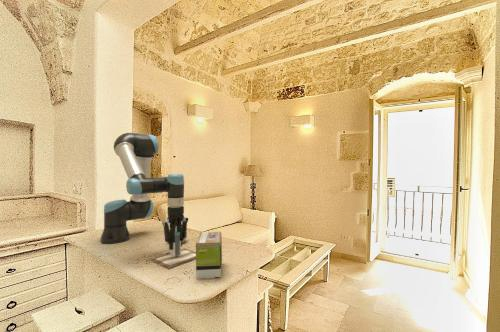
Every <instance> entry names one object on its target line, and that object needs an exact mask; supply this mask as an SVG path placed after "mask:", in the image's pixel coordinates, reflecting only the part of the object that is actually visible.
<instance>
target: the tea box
mask: <svg viewBox="0 0 500 332" xmlns="http://www.w3.org/2000/svg"><path fill="white" fill-rule="evenodd" d="M222 237H223V236H222V231H209V232H208V231H205V232H204V231H203V232H200V233H199V235H198V238H197V240H196V241H195V252H196V259H195V278H196V279H197V280H198V279H199V280H202V279H201V278H206V279H216V278H215V277H220V278H221V277H222V267H223V266H222V265H223V253H222V252H223V250H222V249H223V248H222V247H223V242H222V241H223V240H222Z"/></svg>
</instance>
